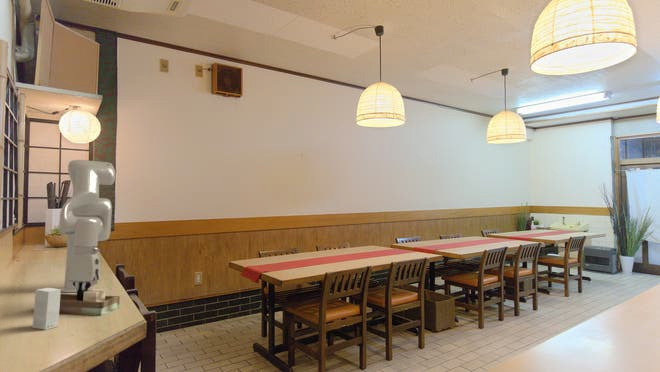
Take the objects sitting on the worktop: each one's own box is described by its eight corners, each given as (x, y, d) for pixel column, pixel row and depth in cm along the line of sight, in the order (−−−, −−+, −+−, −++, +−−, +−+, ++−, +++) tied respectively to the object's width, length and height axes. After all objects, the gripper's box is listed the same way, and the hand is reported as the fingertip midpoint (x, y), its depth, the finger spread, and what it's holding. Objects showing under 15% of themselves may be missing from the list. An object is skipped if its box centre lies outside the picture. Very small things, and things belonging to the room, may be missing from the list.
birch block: (92, 302, 143) (93, 289, 144) (104, 303, 143) (105, 289, 143) (82, 305, 138) (83, 291, 139) (95, 306, 138) (96, 292, 138)
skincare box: (58, 326, 122) (61, 289, 123) (44, 330, 118) (48, 291, 119) (45, 324, 124) (48, 287, 125) (31, 327, 120) (34, 289, 121)
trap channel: (56, 305, 147) (57, 293, 147) (118, 308, 146) (119, 296, 146) (34, 312, 137) (35, 299, 137) (101, 315, 135) (102, 302, 135)
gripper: (110, 250, 145) (107, 299, 144) (73, 249, 146) (70, 297, 145) (97, 252, 138) (93, 303, 137) (58, 251, 139) (54, 301, 138)
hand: (81, 300), depth 141 cm, fingers closed
